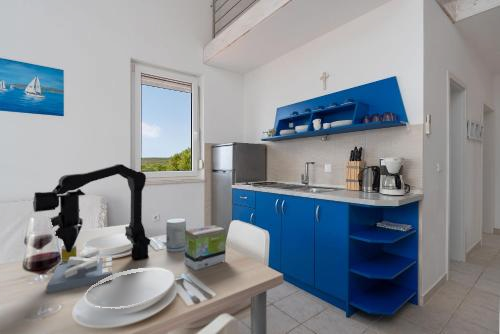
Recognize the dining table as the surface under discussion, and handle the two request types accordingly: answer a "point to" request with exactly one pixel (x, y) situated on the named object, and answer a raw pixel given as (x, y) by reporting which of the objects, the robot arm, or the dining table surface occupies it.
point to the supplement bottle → (67, 254)
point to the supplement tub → (175, 235)
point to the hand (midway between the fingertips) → (70, 248)
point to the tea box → (205, 246)
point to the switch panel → (79, 275)
